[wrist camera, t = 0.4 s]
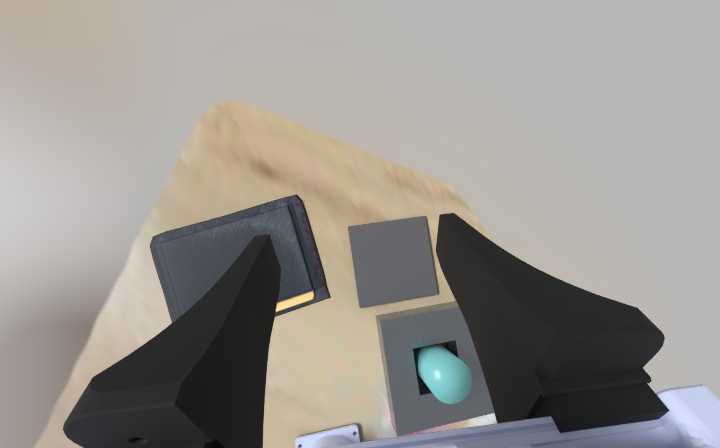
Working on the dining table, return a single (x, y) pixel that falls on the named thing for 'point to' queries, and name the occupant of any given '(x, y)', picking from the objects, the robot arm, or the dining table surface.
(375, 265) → the mat
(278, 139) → the dining table surface
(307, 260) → the grey book
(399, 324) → the housing
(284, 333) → the dining table surface
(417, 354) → the end cap
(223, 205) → the dining table surface
